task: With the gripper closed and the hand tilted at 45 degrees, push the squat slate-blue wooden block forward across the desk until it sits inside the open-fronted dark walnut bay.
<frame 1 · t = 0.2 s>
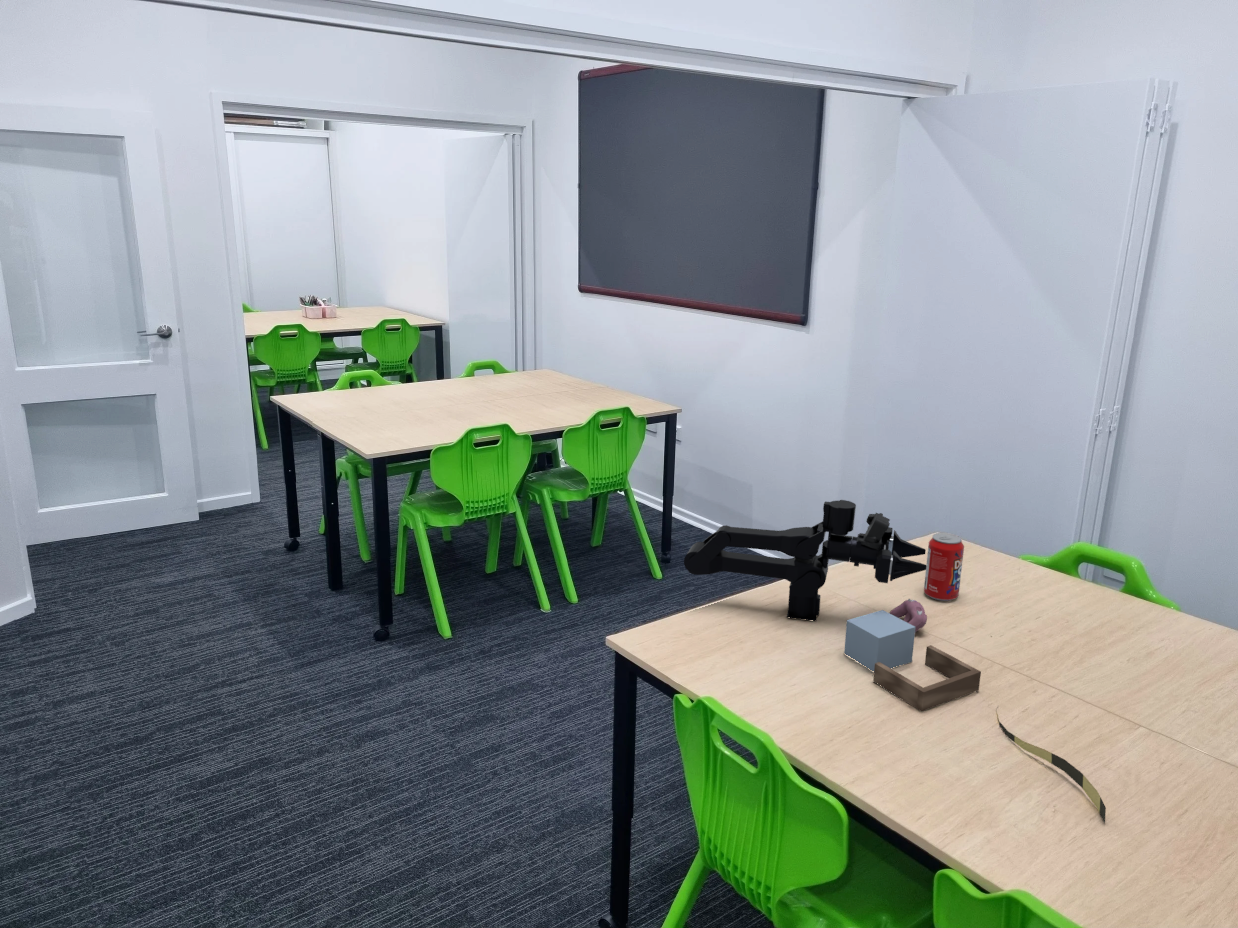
hand: (925, 559, 190), 17 cm above the table, tool horizontal, fingers open, 9 cm apart
slate block: (877, 658, 182), on the table
video game controller: (907, 627, 196), on the table
walnut bay: (923, 684, 172), on the table
soda can: (940, 596, 211), on the table
tape: (1043, 752, 151), on the table
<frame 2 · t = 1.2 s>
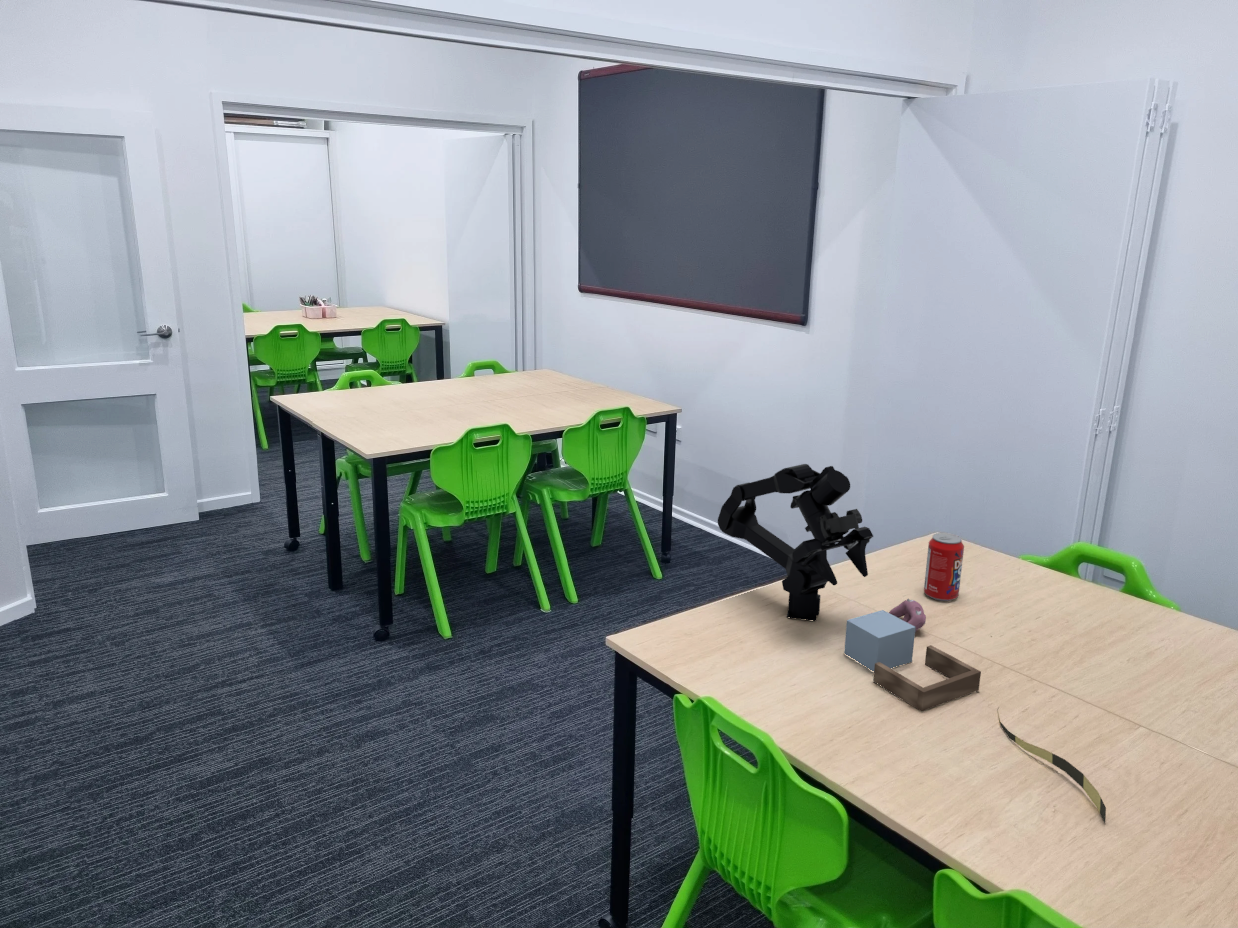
hand: (851, 580, 186), 14 cm above the table, tool tilted 45°, fingers open, 8 cm apart
nothing on the table moved.
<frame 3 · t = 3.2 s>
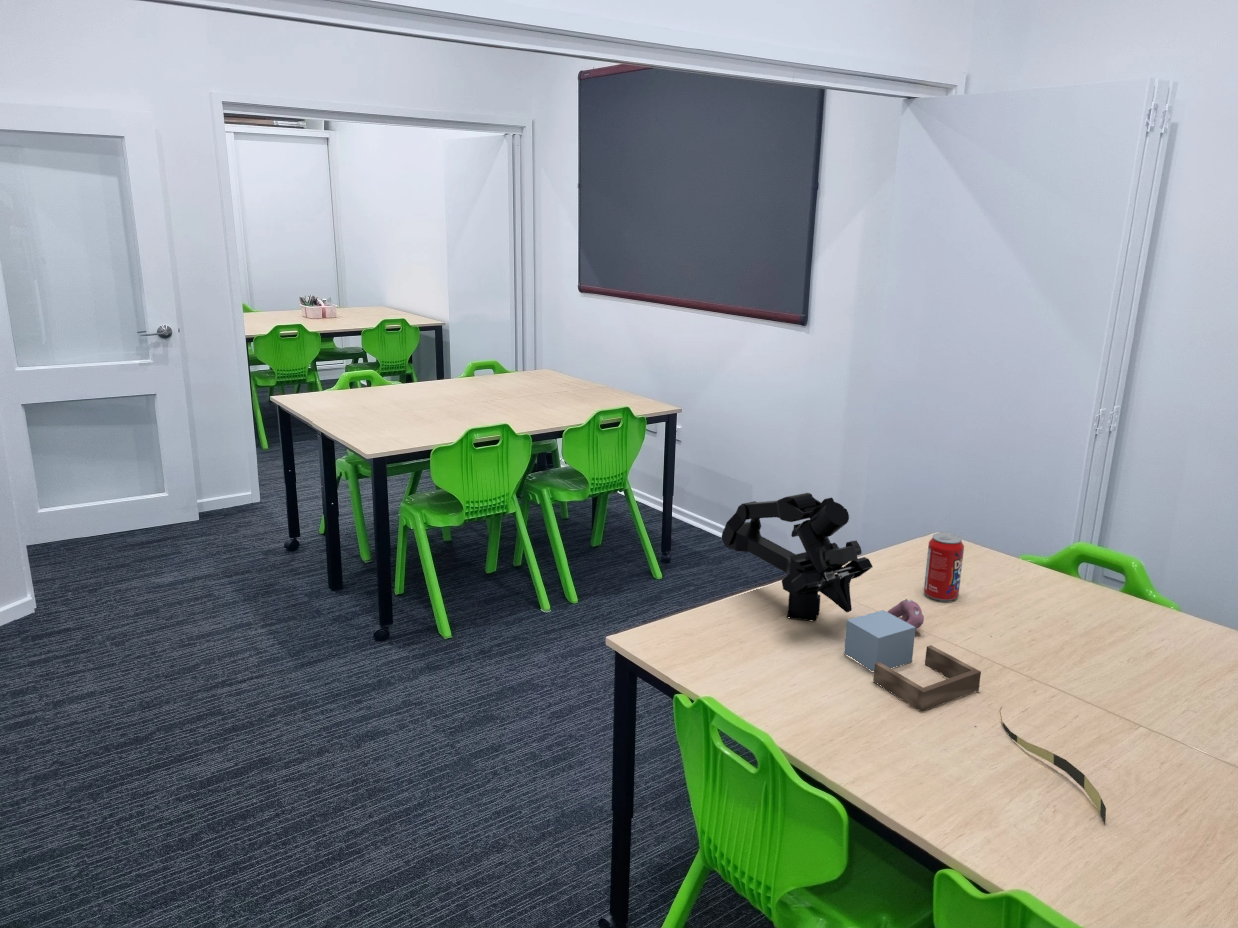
hand: (849, 611, 188), 7 cm above the table, tool tilted 45°, fingers closed
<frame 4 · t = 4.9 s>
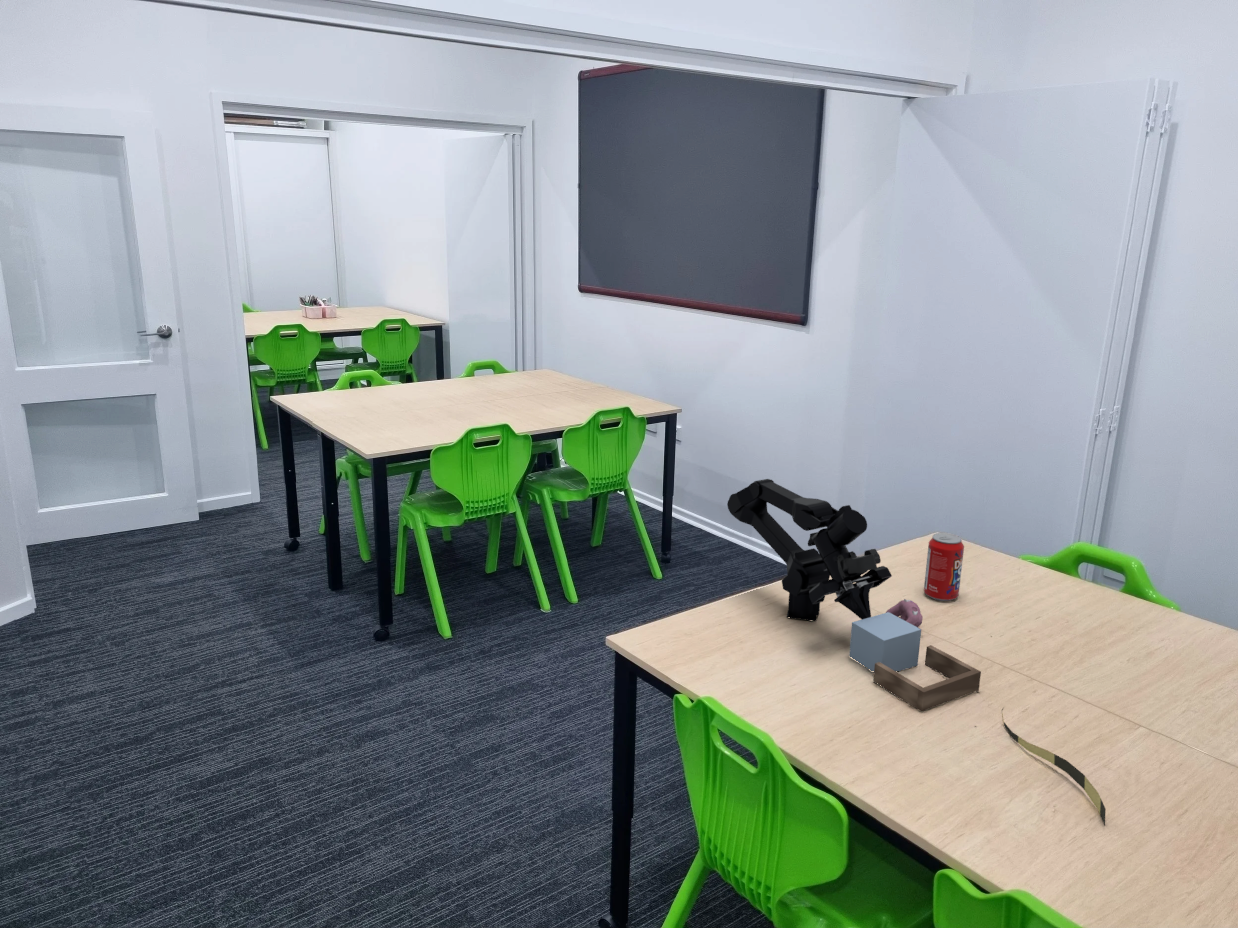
hand: (868, 621, 183), 7 cm above the table, tool tilted 45°, fingers closed, pressing on slate block
slate block: (883, 661, 181), on the table, touching gripper
everything else where it was.
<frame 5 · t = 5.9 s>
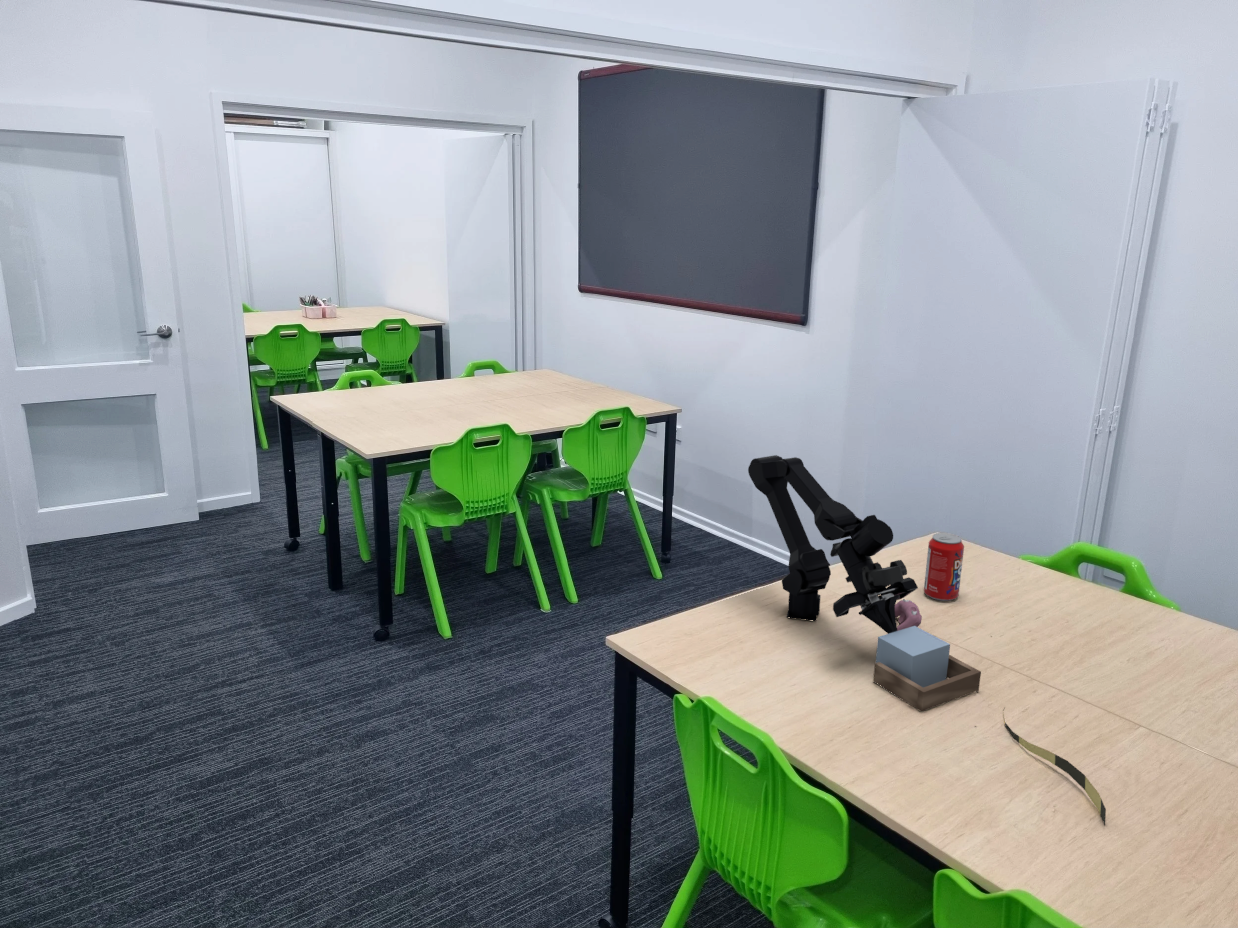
hand: (895, 635, 177), 7 cm above the table, tool tilted 45°, fingers closed, pressing on slate block
slate block: (910, 677, 175), on the table, touching gripper
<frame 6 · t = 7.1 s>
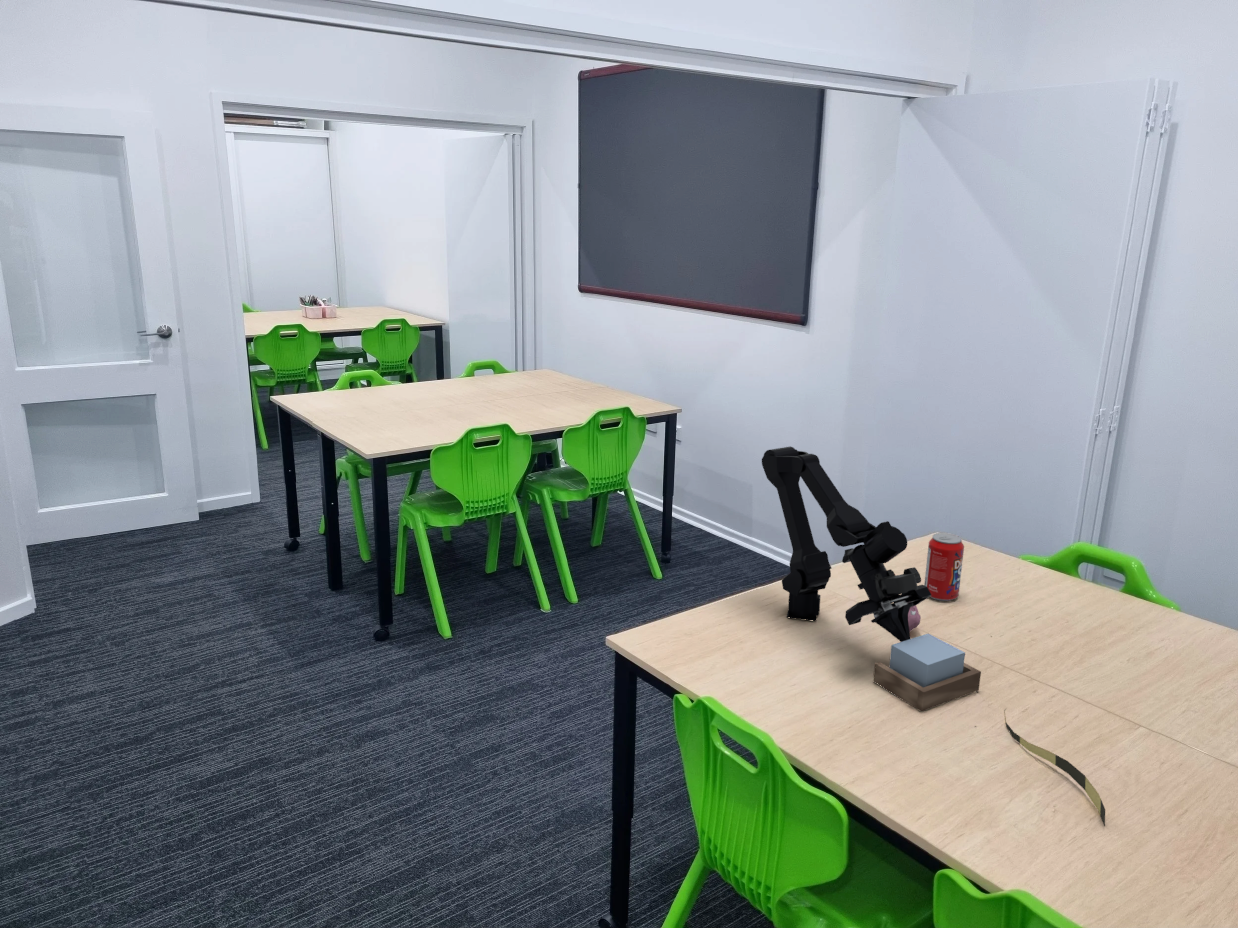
hand: (908, 644, 174), 7 cm above the table, tool tilted 45°, fingers closed
slate block: (924, 685, 172), on the table
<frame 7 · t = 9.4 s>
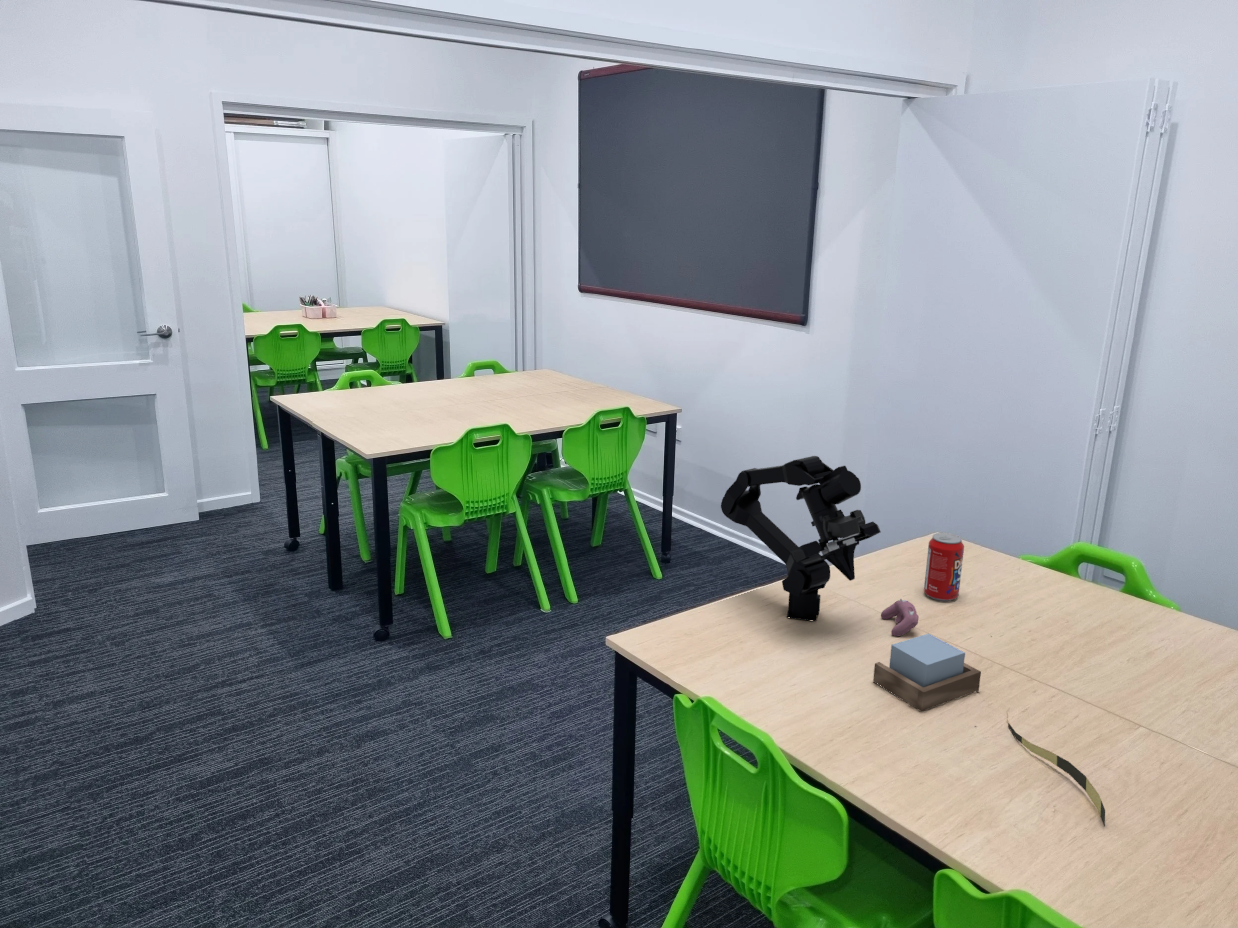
hand: (852, 579, 187), 13 cm above the table, tool tilted 35°, fingers closed
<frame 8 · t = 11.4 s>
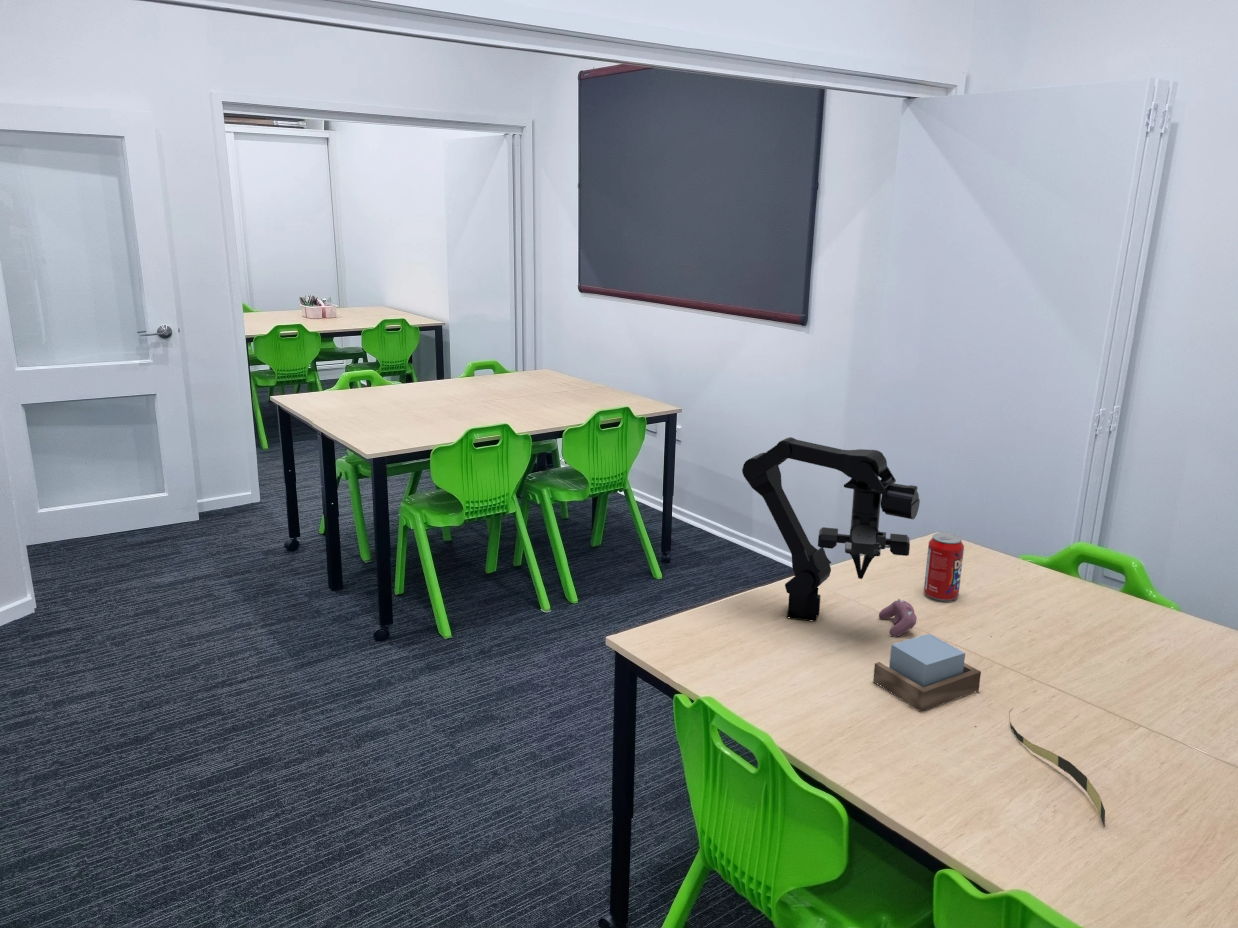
hand: (860, 578, 191), 12 cm above the table, tool pointing down, fingers closed
at the end: slate block 0.3 cm off-centre on the walnut bay, point 0.0 cm above the walnut bay's base; slate block tilted 0°; slate block moved 12.3 cm from its start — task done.
